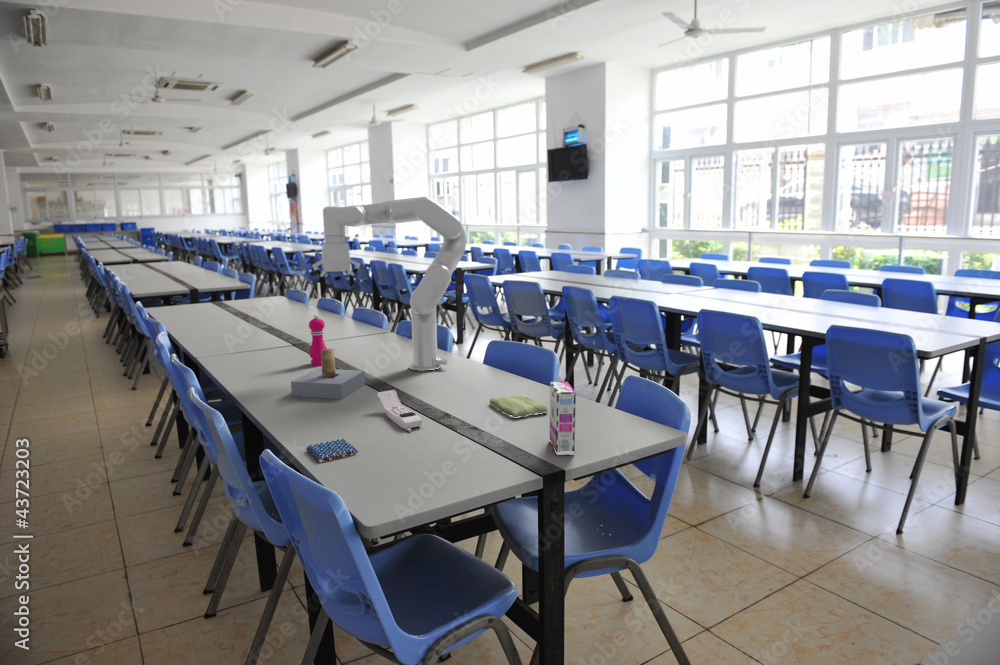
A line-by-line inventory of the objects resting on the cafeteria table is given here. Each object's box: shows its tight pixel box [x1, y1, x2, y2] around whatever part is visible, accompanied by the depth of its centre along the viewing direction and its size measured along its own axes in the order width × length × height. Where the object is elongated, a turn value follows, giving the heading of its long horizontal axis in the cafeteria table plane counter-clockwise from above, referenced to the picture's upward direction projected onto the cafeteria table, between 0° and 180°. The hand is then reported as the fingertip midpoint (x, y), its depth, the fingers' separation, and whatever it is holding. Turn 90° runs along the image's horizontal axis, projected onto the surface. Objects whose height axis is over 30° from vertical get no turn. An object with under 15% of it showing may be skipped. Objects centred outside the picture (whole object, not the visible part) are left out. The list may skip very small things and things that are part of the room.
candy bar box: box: [549, 381, 577, 452], centre depth 168 cm, size 11×5×16 cm, turn 5°
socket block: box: [290, 368, 366, 400], centre depth 224 cm, size 18×18×5 cm
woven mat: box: [305, 438, 359, 462], centre depth 168 cm, size 10×11×2 cm
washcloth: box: [489, 394, 548, 417], centre depth 202 cm, size 13×18×3 cm
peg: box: [321, 348, 336, 379], centre depth 223 cm, size 4×4×14 cm
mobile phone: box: [376, 389, 423, 432], centre depth 193 cm, size 6×6×25 cm
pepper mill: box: [308, 314, 328, 367], centre depth 260 cm, size 7×7×20 cm
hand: (337, 286), depth 245 cm, fingers open, 9 cm apart
